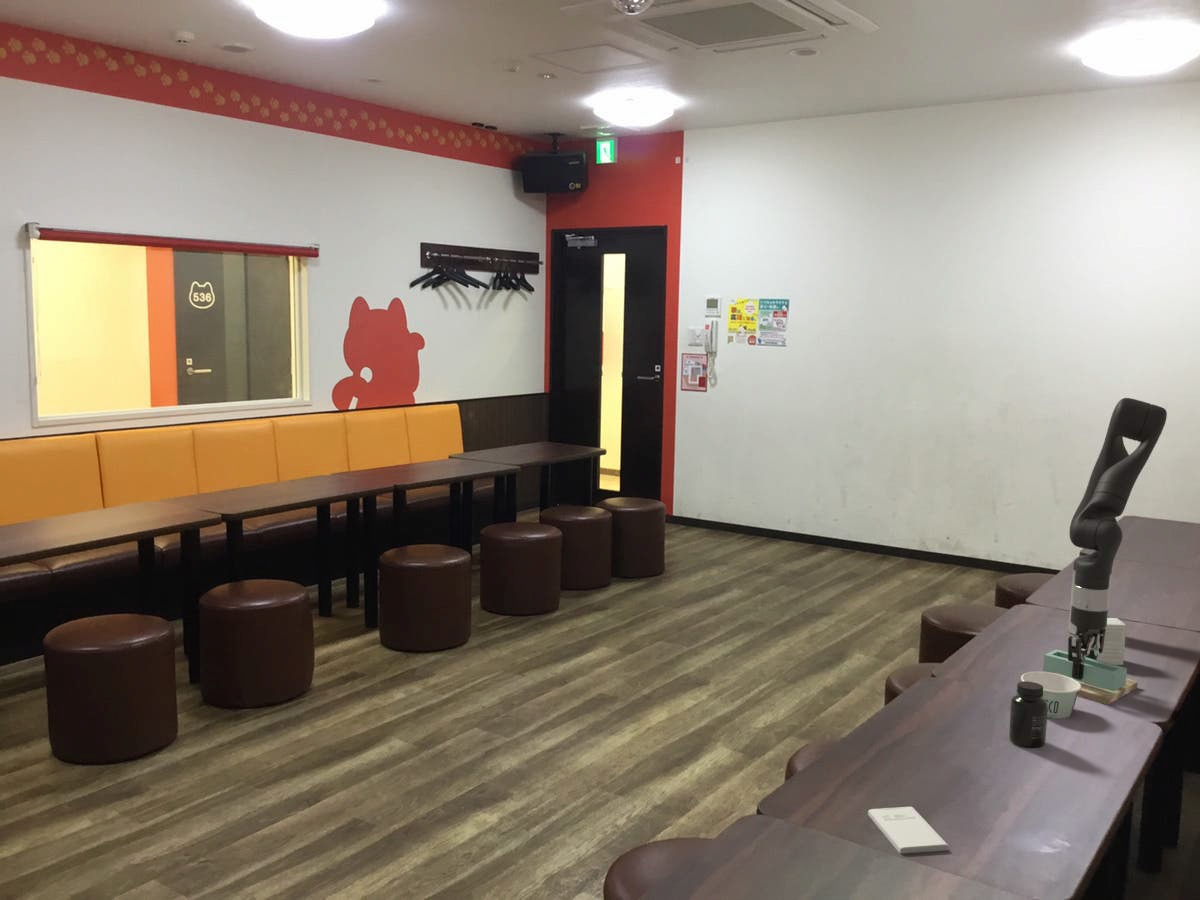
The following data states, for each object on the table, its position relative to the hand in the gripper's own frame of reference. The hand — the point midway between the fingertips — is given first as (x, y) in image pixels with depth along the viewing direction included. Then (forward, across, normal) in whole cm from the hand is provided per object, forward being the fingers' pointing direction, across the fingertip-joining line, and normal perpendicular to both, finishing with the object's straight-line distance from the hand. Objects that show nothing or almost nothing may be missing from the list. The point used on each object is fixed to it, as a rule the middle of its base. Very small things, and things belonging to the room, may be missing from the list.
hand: (1083, 675), depth 227 cm
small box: (+3, +22, +5) cm, 23 cm away
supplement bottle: (+3, -39, -6) cm, 40 cm away
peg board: (+3, +2, 0) cm, 4 cm away
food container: (+3, -19, -1) cm, 19 cm away
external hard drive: (+4, -88, -11) cm, 89 cm away
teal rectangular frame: (+1, 0, 0) cm, 1 cm away
